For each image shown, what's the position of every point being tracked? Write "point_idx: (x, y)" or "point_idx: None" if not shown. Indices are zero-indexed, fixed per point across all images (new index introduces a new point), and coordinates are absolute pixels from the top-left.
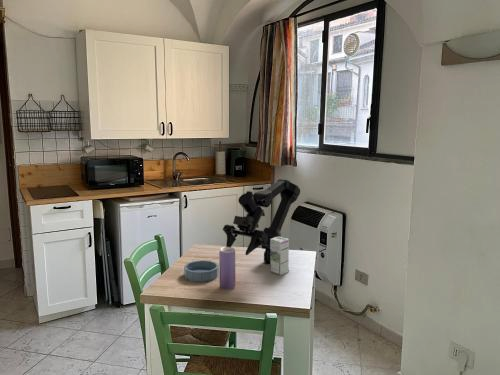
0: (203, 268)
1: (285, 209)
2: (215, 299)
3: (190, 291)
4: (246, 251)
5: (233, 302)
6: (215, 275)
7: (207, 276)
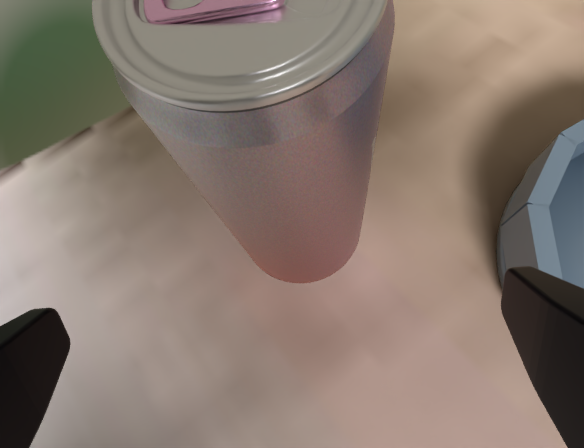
0: None
1: None
2: None
3: (442, 43)
4: (7, 327)
5: None
6: None
7: (517, 198)
